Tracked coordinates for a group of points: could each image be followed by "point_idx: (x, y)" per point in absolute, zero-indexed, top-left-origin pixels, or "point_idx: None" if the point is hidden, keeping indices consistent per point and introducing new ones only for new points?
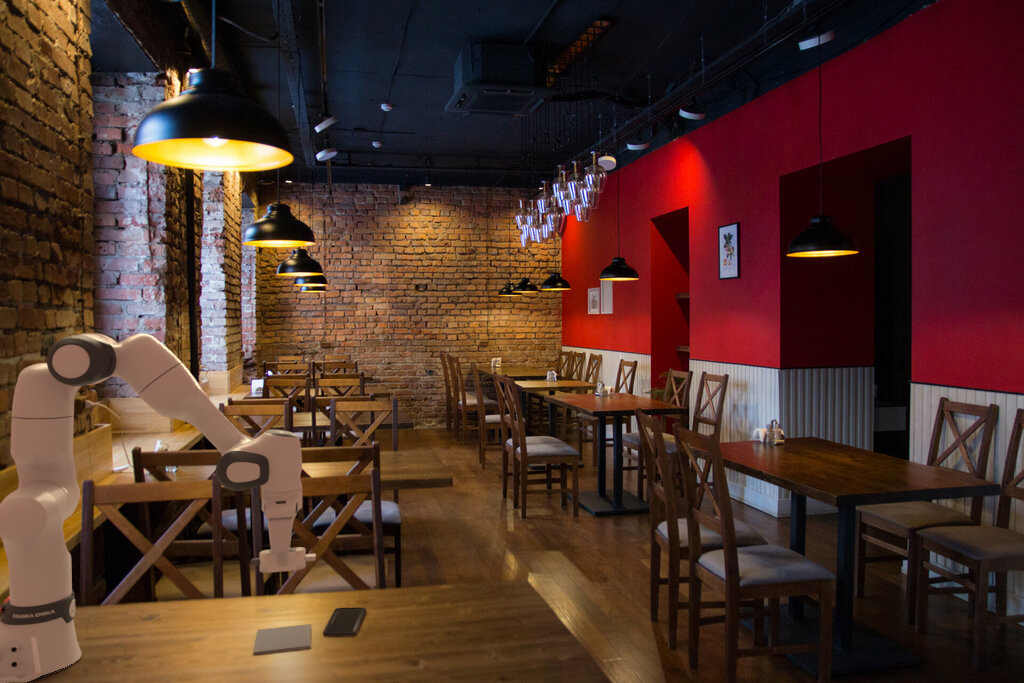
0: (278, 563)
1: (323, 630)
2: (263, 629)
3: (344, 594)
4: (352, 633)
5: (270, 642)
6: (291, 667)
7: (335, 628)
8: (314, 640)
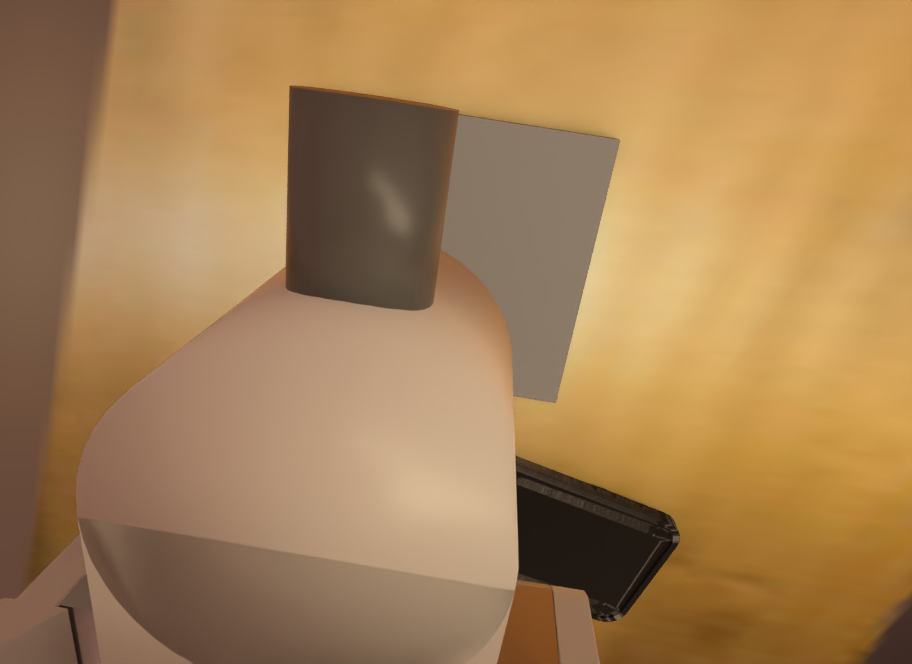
0: (79, 542)
1: None
2: (605, 173)
3: (865, 588)
4: None
5: None
6: (143, 256)
7: None
8: None
